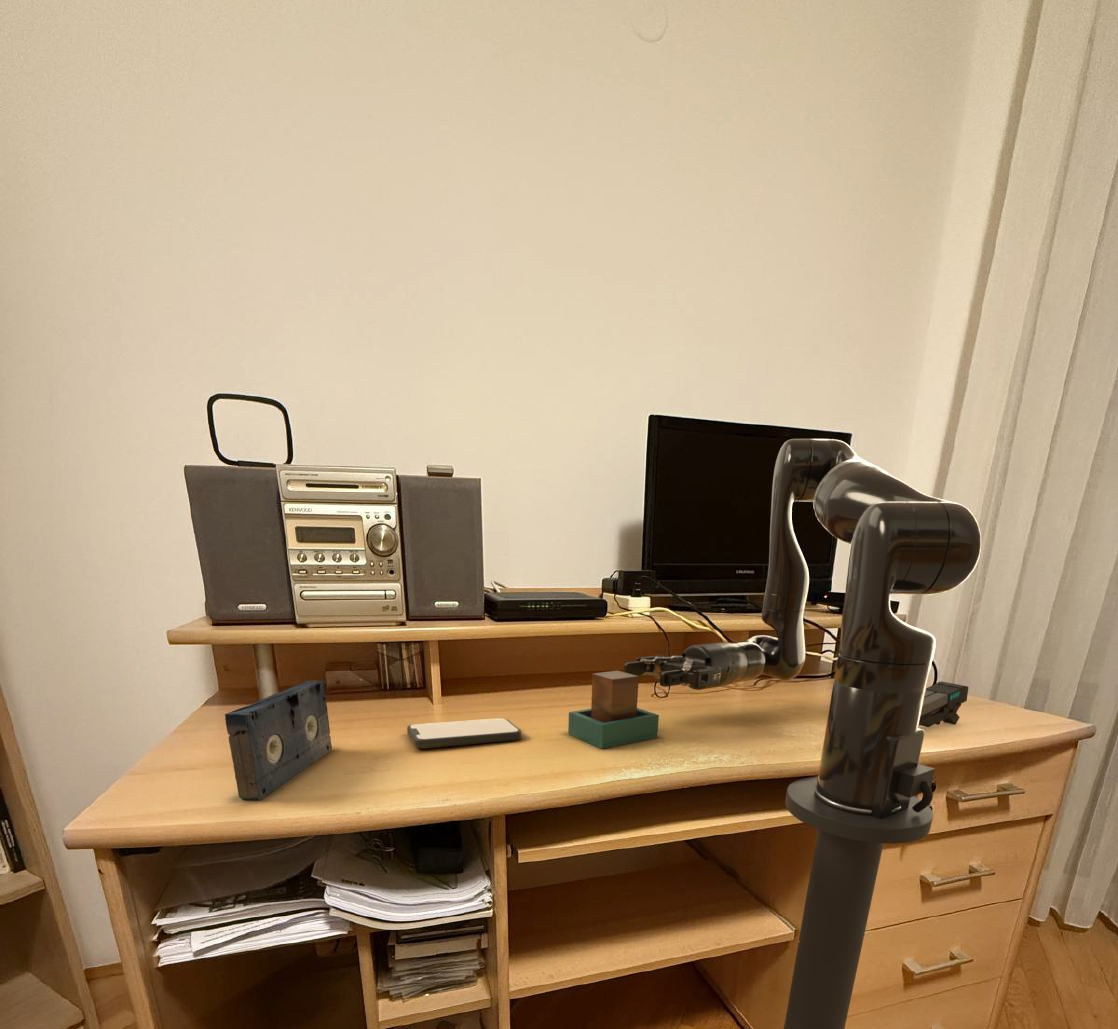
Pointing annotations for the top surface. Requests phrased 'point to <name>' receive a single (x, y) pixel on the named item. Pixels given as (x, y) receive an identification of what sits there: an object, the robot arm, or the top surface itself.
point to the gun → (942, 703)
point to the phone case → (462, 732)
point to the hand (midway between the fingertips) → (642, 674)
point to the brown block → (614, 696)
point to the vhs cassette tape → (278, 738)
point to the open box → (613, 728)
